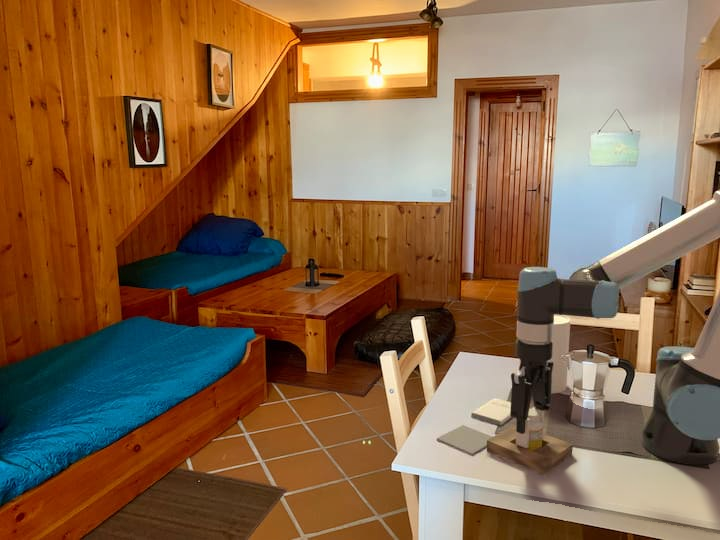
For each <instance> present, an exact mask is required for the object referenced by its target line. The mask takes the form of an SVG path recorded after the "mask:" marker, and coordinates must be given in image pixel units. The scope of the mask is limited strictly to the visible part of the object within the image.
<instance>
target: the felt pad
mask: <svg viewBox="0 0 720 540" xmlns="http://www.w3.org/2000/svg"><path fill="white" fill-rule="evenodd" d="M492 437H493V435H492V436H491V435H489V434H487V433H485V432H481V431H480V430H476V429H474V428H471V427H469V426H467V425H464V424H462V425H460V426H458V427H455V428H454V429H452V430H451V431H448V432H447V433H444V434H442V435H440V436H438V437H437V438H436V440H437V441H438V442H441V443H443V444H445V445H448V446H450V447H452V448H454V449H457V450H459V451H461V452H464V453H466V454H469V456H470V455H471V456H473V455H476V454H477V453H478V452H481V451H482V450H484V449H485V448H486V449H487V440H488V439H490V438H492Z"/></svg>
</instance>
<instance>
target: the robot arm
mask: <svg viewBox="0 0 720 540" xmlns="http://www.w3.org/2000/svg"><path fill="white" fill-rule="evenodd" d="M719 238H720V189H718V190H716V191H715V192H714V193H713V196H712V198H711V199H710V200H708V201H706V202H704V203H702V204H701V205H699V206H697V207H696V208H693V209H691V210H689V211H688V212H686V213H684V214H682V215H680V216H679V217H677V218H675V219H674V220H671V221H670V222H667V223H666V224H664V225H662V226H660V227H659V228H656V229H655V230H653V231H651V232H649V233H648V234H646V235H644V236H641V237H640V238H638V239H636V240H635V241H633V242H630V243H629V244H627V245H625V246H624V247H622V248H619V249H617V250H615V251H614V252H612V253H611V254H609V255H608V254H607V256H605V257H603V258H601V259H599V260H598V261H596V262H594V263H592V264H590V265H589V266H584V267H580V268H577V269H576V270H575V271H574V272H573V273H571V275H570V276H569V279H564V278H559V277H558V275H557V271H556V269H554V268H552V267H544V266H530V267H529V266H527V267H524V268H522V269H521V270H520V271H519V275H518V277H519V278H518V287H517V310H516V311H517V313H516V320H517V321H516V334H515V335H516V336H515V337H516V338H517V339H516V340H515V356H516V357H517V358H518V360H519V359H520V361H521V362H520V366H519V365H518V367H519V372H518V371H517V373H515V372H512V373H511V374H510V378H511V379H510V380H511V396H510V397H511V399H510V402H511V411H510V416H511V418H514V419H516V423H515V424H516V444H517V445H519V446H522V447H524V448H528V447H529V429H530V419H529V418H528V413H529V409H535V410H537V411H539V412H540V421H541V422H542V424H543V430H544V423H545V411H550V409H551V408H550V406H548V405H551V402H552V393H551V383H552V369H553V365H554V363H553V362H551V361H549V360H550V359H551V358H552V348H553V343H552V342H551V341H552V340H553V330H554V314H557V315H564V316H567V317H568V316H570V317H581V318H592V319H594V318H595V319H598V320H599V319H613V318H616V316H617V315H618V310H619V302H620V301H619V295H620V294H619V293H620V292H619V291H620V290H619V289H622V288H623V287H625V286H628V285H629V284H632V283H634V282H635V281H638V280H639V279H642V278H643V277H645V276H647V275H649V274H651V273H653V272H655V271H657V270H658V269H661V268H663V267H665V266H667V265H668V264H670V263H672V262H674V261H677V260H678V259H680V258H683V257H684V256H686V255H688V254H689V253H692V252H695V251H696V250H699V249H700V248H702V247H704V246H706V245H708V244H710V243H711V242H714V241H717V239H719ZM655 362H656V368H655V369H656V370H655V379H654V390H653V400H652V401H653V403H652V411H651V413H650V415H649V416H648V419H647V421H646V423H645V425H644V427H643V429H642V431H641V440H640V441H641V445H642V446H643V447H644V448H645V449H646V450H647V451H648V452H650V453H651V454H653V455H655V456H657V457H660V458H661V459H665V460H667V461H672V462H674V463H679V464H685V465H691V466H692V465H693V466H694V465H697V466H699V465H700V466H702V465H709V464H713V463H715V462H716V461H718V459H719V458H720V457H719V456H720V443H719V441H718V439H720V290H719V292H718V294H717V296H716V298H715V301H714V303H713V304H712V307H711V309H710V312H709V314H708V317H707V319H706V322H705V323H704V326H703V328H702V330H701V333H700V335H699V337H698V340H697V342H696V344H695V346H694V347H690V346H689V347H687V346H663V347H660V349H658V351H657V356H656V358H655ZM525 382H527V383H525ZM528 383H531V384H528ZM532 398H533V407H531V403H532ZM542 439H543V437H542Z"/></svg>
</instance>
